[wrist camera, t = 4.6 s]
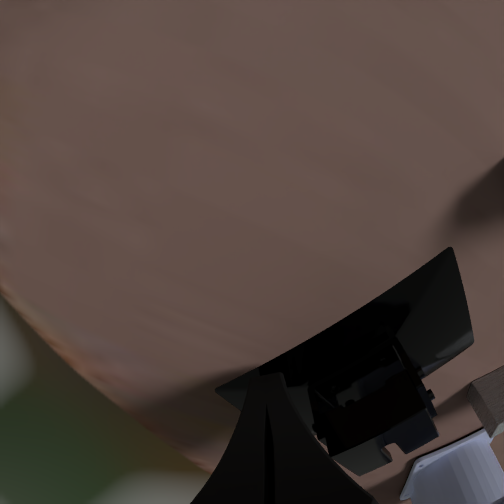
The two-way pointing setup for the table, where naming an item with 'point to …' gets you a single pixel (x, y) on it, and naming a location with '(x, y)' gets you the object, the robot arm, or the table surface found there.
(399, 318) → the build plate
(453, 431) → the table surface
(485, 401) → the steel channel
